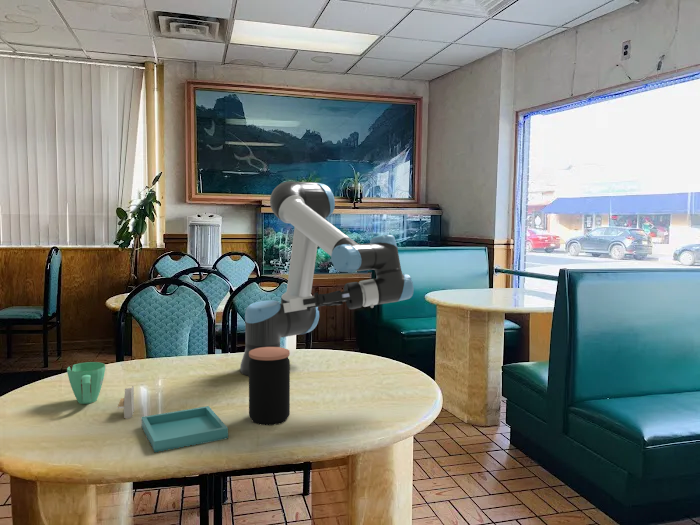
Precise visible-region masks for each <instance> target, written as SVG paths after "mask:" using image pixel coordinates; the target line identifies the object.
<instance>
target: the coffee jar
mask: <svg viewBox="0 0 700 525" xmlns="http://www.w3.org/2000/svg"><path fill="white" fill-rule="evenodd" d="M290 354H291V352H290V350H289V349H287V348H284V347H281V346H280V347H261V348H256V349H253V350H251V351H249V357H250V358H251V359H250V360H249V376H248V416H249V418H250V420H251V422H253V423H254V424H256V425H260V424H261V425H260V426H274V424H276V425H279V423H280V424H283V423H284V422H286V421H287V419H288V418H289V417H290V413H291V412H290V408H291V406H290V405H291V403H290V400H291V399H290V398H291V397H290V396H291V395H290V394H291V392H290V391H291V389H290V387H291V384H290V382H291V379H290V378H291V377H290V376H291V375H290V374H291V373H290V372H291V370H290V369H291V367H290V366H291V363H290V362H291V360H290V358H289V357H290ZM282 422H283V423H282Z"/></svg>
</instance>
